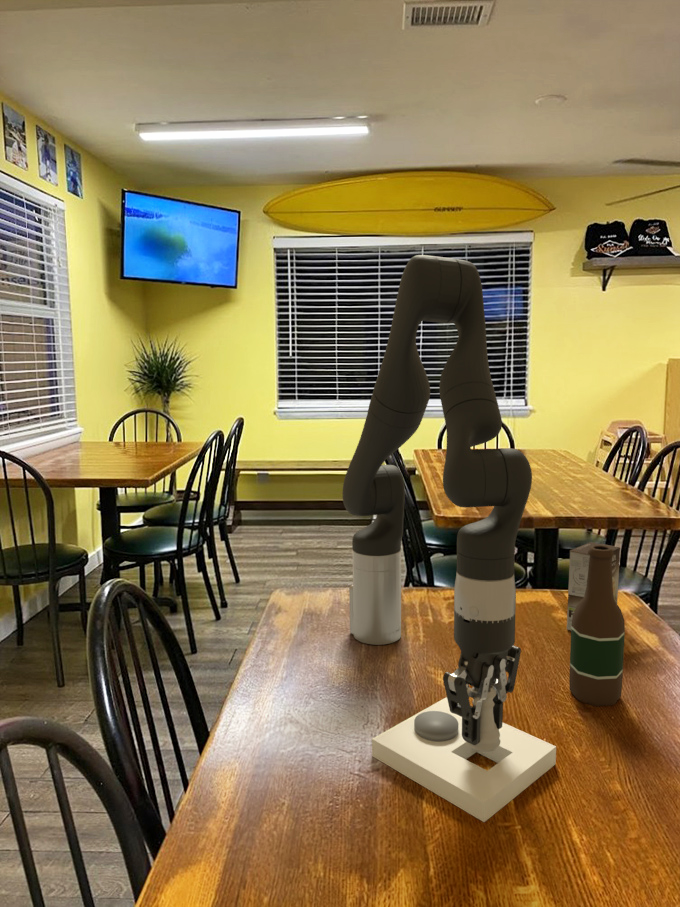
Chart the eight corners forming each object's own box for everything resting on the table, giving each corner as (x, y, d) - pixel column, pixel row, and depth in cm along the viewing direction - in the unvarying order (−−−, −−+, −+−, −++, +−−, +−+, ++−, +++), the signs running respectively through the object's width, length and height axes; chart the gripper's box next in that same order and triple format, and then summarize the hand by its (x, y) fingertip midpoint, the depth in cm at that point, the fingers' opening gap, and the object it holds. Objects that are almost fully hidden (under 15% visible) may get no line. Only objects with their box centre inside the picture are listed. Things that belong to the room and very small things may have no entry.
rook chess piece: (501, 755, 83) (502, 694, 82) (464, 751, 84) (465, 691, 83) (500, 735, 87) (500, 678, 86) (465, 732, 88) (465, 675, 87)
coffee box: (597, 639, 126) (601, 556, 124) (565, 629, 130) (568, 550, 128) (617, 624, 132) (620, 546, 130) (586, 616, 137) (589, 540, 135)
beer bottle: (597, 712, 100) (603, 557, 97) (558, 690, 107) (563, 545, 103) (632, 699, 103) (640, 550, 100) (592, 679, 110) (598, 538, 107)
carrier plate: (372, 756, 90) (372, 731, 89) (446, 712, 100) (446, 690, 100) (484, 822, 76) (484, 794, 76) (555, 764, 87) (556, 739, 87)
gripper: (492, 586, 91) (489, 704, 93) (424, 614, 81) (424, 744, 84) (541, 600, 85) (538, 724, 88) (475, 631, 76) (473, 770, 78)
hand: (482, 733), depth 86 cm, fingers closed on rook chess piece, 4 cm apart
